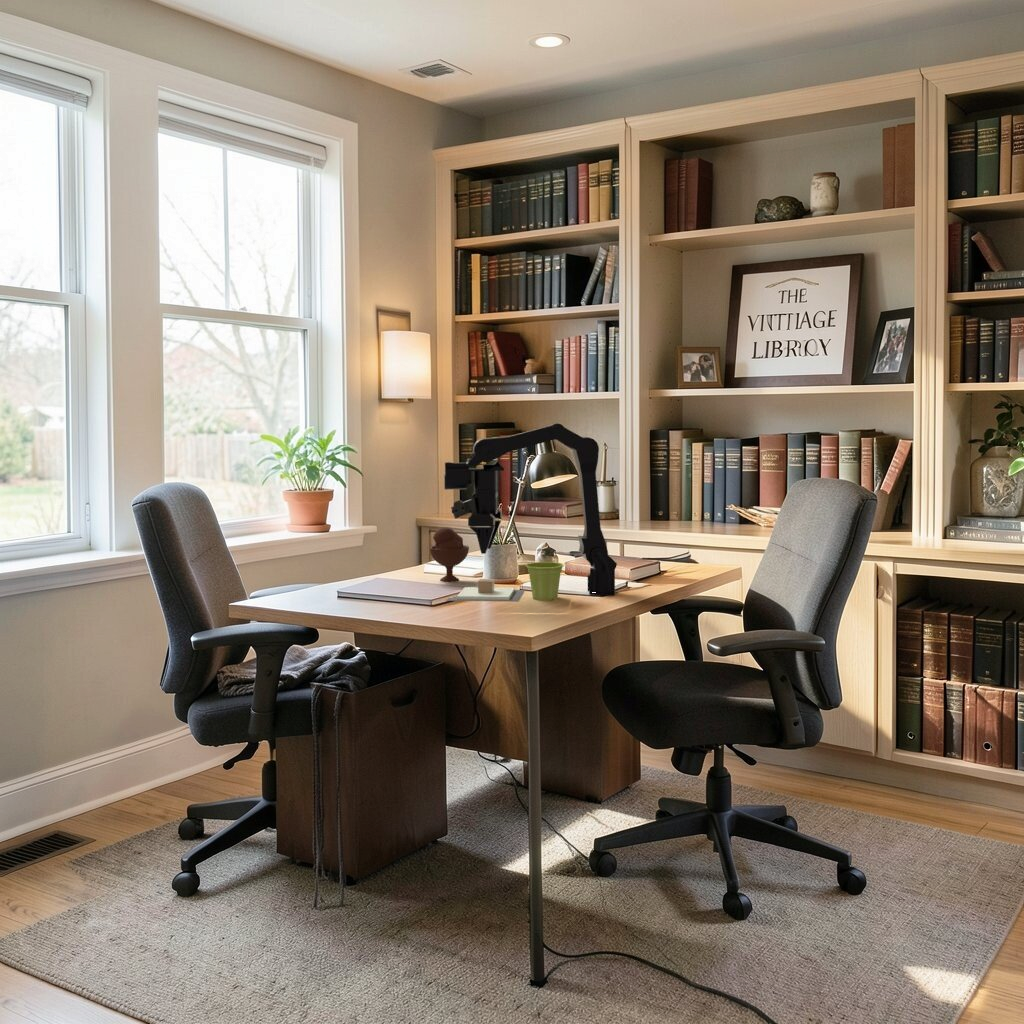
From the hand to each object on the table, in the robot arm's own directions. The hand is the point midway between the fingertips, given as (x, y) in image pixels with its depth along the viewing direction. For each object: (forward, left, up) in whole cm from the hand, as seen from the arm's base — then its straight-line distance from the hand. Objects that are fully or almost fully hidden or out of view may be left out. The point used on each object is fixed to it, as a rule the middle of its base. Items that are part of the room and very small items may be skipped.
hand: (486, 551), depth 270 cm
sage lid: (0, 0, -11) cm, 11 cm away
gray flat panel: (0, 0, -11) cm, 11 cm away
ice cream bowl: (+13, -22, -12) cm, 28 cm away
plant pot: (-15, +3, -12) cm, 19 cm away
